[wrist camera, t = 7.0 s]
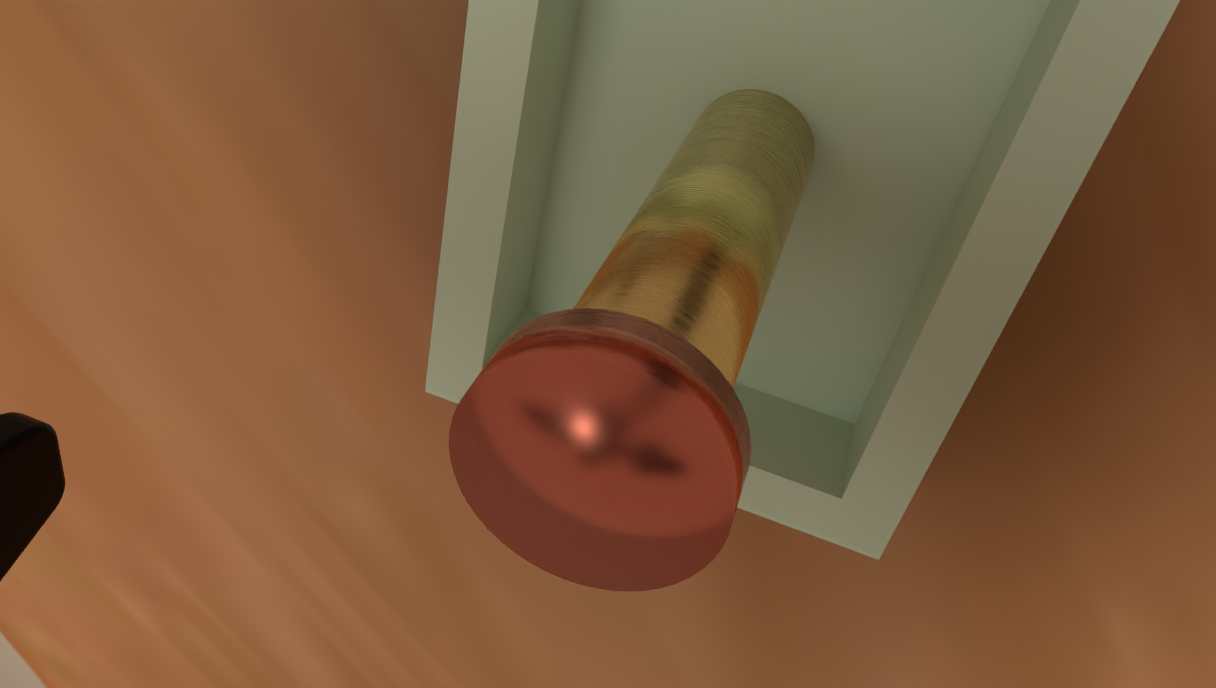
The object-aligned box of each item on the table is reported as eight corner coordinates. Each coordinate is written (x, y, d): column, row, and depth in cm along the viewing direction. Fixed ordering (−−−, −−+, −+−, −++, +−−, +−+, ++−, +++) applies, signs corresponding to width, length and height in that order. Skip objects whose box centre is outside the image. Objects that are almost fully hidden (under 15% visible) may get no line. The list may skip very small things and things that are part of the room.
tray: (1205, -154, 15) (1245, -121, 13) (890, 468, 23) (878, 560, 21) (574, -319, 17) (504, -318, 14) (480, 321, 24) (425, 391, 22)
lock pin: (867, 94, 18) (772, 422, 10) (809, 251, 20) (691, 628, 12) (689, 39, 19) (465, 313, 11) (649, 199, 21) (436, 529, 13)
